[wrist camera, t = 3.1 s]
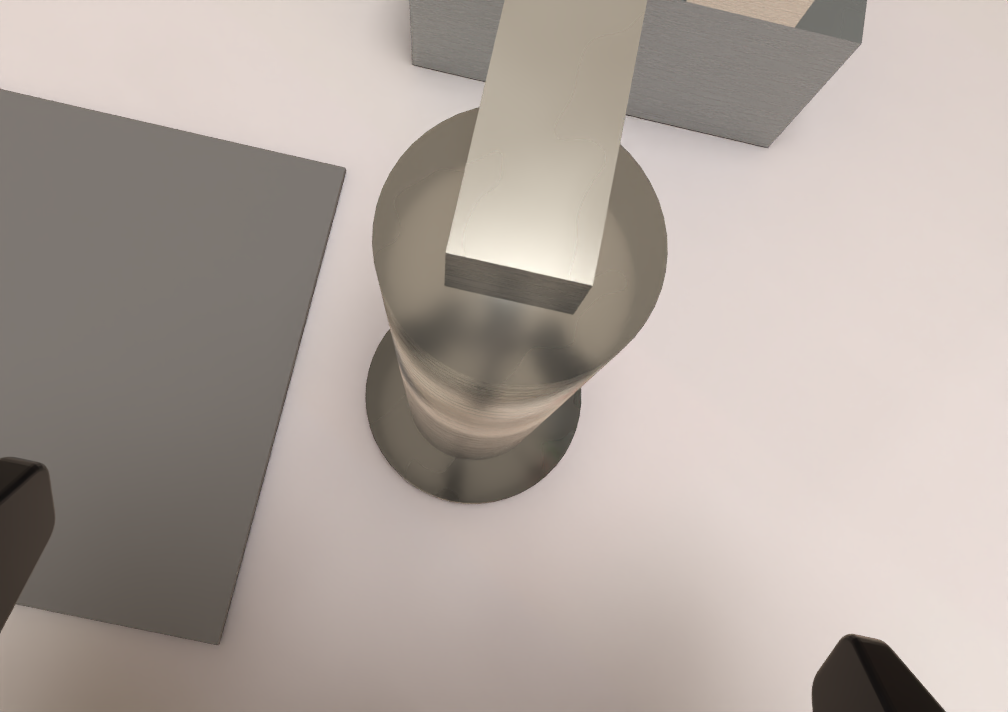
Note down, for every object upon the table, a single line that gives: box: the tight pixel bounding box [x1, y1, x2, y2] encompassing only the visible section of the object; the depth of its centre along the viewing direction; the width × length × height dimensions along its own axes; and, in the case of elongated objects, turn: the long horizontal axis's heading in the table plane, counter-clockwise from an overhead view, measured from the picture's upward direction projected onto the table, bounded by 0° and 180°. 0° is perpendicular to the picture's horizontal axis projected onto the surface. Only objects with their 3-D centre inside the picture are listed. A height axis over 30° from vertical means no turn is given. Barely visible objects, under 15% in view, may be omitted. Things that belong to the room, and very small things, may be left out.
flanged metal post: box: [366, 0, 668, 504], centre depth 14 cm, size 6×5×13 cm
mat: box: [0, 89, 346, 645], centre depth 20 cm, size 12×12×1 cm
